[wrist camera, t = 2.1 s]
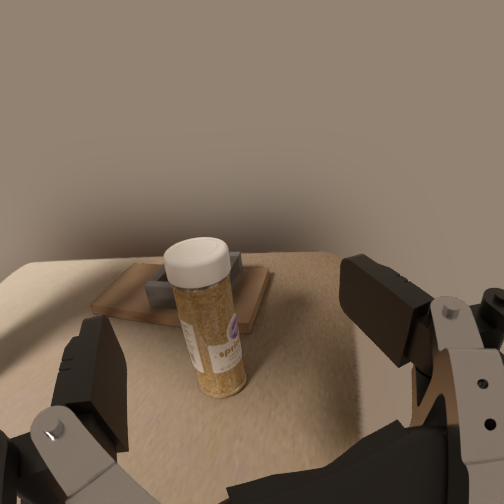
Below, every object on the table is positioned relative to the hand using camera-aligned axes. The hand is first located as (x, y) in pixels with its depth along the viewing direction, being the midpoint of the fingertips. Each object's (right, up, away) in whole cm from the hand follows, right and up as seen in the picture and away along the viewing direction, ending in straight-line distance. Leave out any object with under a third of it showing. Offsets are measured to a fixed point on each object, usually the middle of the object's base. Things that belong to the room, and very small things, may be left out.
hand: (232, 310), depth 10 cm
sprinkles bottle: (-2, -10, +17) cm, 20 cm away
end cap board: (-9, -4, +30) cm, 32 cm away
